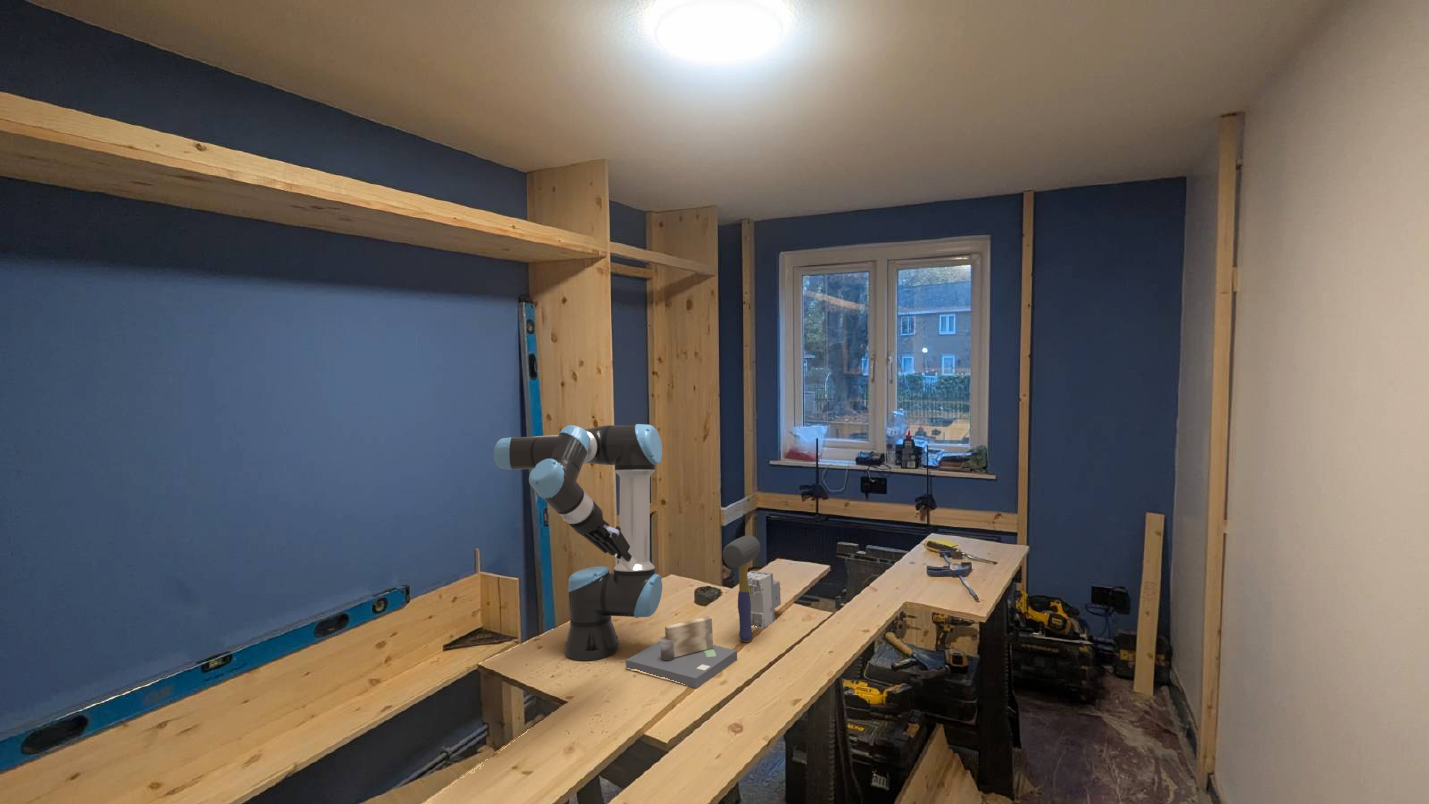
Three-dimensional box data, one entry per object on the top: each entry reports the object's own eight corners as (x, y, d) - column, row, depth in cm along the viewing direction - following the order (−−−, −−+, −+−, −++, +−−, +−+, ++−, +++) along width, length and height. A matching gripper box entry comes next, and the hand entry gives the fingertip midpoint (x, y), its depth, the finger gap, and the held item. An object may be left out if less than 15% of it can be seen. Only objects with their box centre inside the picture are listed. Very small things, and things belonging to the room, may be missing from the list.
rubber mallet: (748, 651, 178) (743, 544, 177) (724, 647, 181) (719, 542, 181) (766, 635, 189) (761, 534, 188) (743, 631, 192) (739, 532, 192)
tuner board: (626, 669, 170) (625, 659, 170) (670, 643, 185) (669, 635, 185) (696, 688, 157) (696, 678, 157) (737, 659, 173) (736, 650, 172)
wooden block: (664, 661, 167) (662, 630, 167) (659, 656, 170) (657, 626, 170) (714, 648, 174) (713, 619, 173) (708, 644, 177) (707, 615, 177)
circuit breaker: (783, 614, 205) (781, 568, 205) (762, 629, 193) (760, 580, 193) (763, 611, 209) (760, 565, 209) (741, 625, 197) (739, 577, 197)
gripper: (552, 523, 148) (606, 575, 162) (593, 528, 140) (646, 582, 154) (568, 496, 152) (619, 550, 166) (608, 499, 145) (658, 555, 159)
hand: (632, 565), depth 160 cm, fingers closed
